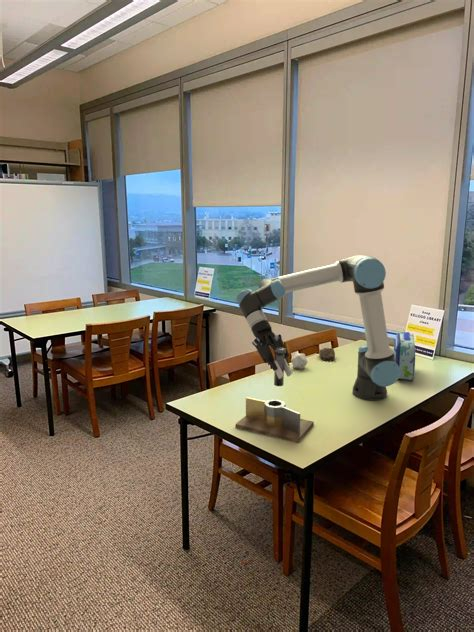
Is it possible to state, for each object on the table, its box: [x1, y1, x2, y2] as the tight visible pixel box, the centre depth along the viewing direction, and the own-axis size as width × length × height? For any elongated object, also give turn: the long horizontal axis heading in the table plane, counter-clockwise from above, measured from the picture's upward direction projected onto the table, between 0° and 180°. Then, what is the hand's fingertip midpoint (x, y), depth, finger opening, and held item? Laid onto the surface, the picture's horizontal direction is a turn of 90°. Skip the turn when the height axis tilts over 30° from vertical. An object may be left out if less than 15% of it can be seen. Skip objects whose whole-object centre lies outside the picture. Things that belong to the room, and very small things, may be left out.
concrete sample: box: [318, 347, 336, 362], centre depth 256 cm, size 12×10×5 cm
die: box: [290, 352, 308, 370], centre depth 240 cm, size 8×9×10 cm
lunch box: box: [392, 331, 416, 381], centre depth 227 cm, size 26×11×21 cm, turn 161°
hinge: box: [245, 396, 301, 434], centre depth 171 cm, size 24×8×8 cm, turn 61°
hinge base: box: [235, 415, 315, 444], centre depth 173 cm, size 26×16×2 cm, turn 61°
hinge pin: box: [273, 347, 287, 387], centre depth 169 cm, size 5×5×14 cm
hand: (285, 375), depth 167 cm, fingers closed on hinge pin, 4 cm apart
